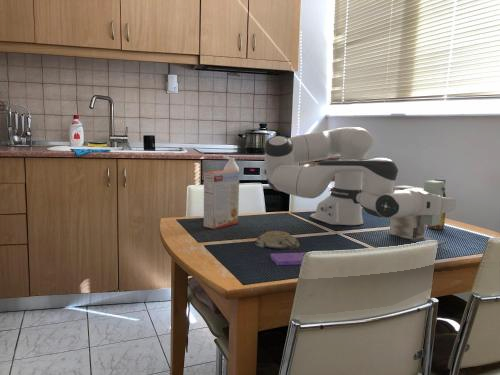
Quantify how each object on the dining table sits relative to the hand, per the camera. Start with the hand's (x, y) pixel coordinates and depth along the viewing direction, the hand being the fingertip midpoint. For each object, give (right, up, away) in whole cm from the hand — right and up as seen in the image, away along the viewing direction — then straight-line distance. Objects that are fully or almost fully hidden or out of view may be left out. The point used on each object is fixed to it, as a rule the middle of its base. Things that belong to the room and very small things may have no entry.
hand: (434, 198), depth 149 cm
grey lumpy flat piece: (-55, -15, -7) cm, 58 cm away
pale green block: (-1, -9, +1) cm, 9 cm away
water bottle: (-73, -9, +31) cm, 80 cm away
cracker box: (-75, -11, +15) cm, 77 cm away
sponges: (-51, -18, -24) cm, 60 cm away
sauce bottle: (+11, -13, +24) cm, 29 cm away
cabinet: (-4, -15, +6) cm, 16 cm away
